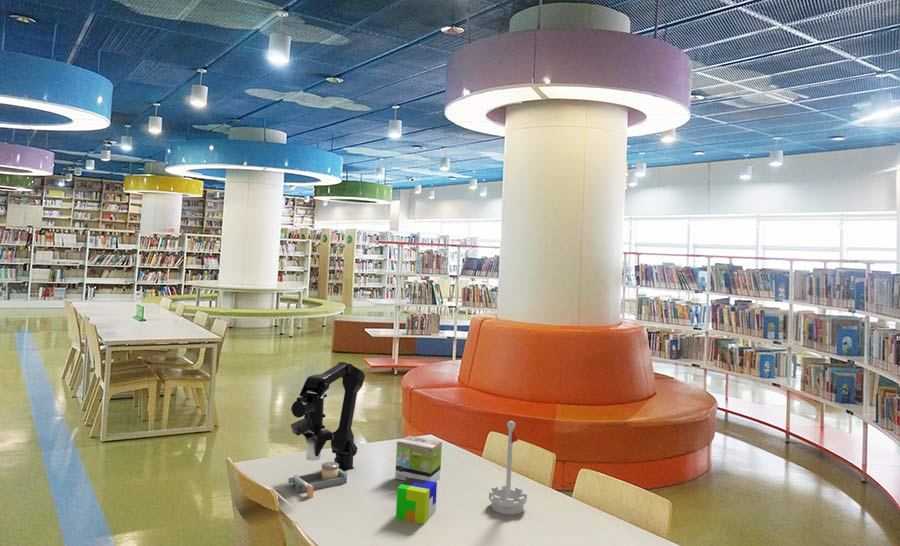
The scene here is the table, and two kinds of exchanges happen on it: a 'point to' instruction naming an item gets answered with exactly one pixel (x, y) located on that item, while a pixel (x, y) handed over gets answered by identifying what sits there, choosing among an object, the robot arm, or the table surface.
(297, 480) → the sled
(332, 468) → the ochre jar
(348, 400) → the robot arm
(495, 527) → the table surface
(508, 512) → the flag stand
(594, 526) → the table surface
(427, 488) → the puzzle toy
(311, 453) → the white jar
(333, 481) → the grey flat frame
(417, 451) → the tea box
